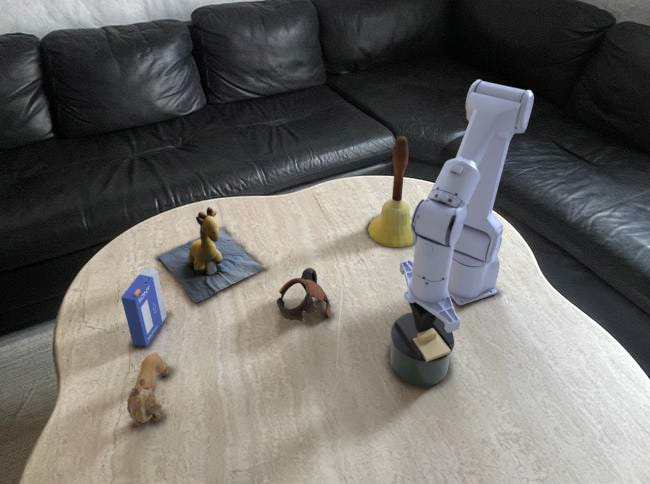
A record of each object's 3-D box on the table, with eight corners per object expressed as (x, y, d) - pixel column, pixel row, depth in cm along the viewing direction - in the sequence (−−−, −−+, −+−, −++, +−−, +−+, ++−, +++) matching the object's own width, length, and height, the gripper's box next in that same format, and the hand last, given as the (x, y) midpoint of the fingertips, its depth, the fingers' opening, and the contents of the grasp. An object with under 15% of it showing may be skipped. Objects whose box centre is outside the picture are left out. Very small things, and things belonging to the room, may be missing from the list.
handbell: (371, 212, 129) (376, 122, 116) (421, 218, 126) (431, 127, 114) (365, 243, 118) (370, 148, 106) (419, 250, 116) (430, 154, 104)
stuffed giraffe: (195, 303, 102) (186, 237, 95) (158, 258, 114) (148, 197, 107) (263, 271, 111) (260, 208, 104) (222, 232, 123) (216, 174, 116)
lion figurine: (168, 440, 78) (159, 403, 73) (131, 448, 77) (120, 411, 72) (170, 361, 90) (162, 324, 86) (138, 366, 89) (129, 330, 85)
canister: (377, 347, 93) (380, 317, 89) (428, 330, 96) (432, 300, 92) (407, 396, 84) (411, 366, 80) (462, 375, 88) (468, 345, 84)
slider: (412, 341, 86) (413, 333, 85) (435, 333, 87) (436, 325, 86) (426, 362, 82) (427, 354, 81) (450, 353, 84) (452, 345, 83)
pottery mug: (333, 332, 96) (312, 311, 91) (290, 340, 100) (268, 320, 95) (336, 276, 105) (317, 254, 100) (296, 285, 108) (276, 265, 104)
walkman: (146, 347, 93) (134, 298, 87) (133, 344, 93) (120, 295, 88) (168, 314, 100) (158, 267, 94) (155, 312, 100) (144, 265, 94)
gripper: (386, 246, 84) (381, 306, 91) (435, 308, 73) (425, 372, 79) (423, 236, 87) (415, 295, 93) (476, 294, 75) (463, 357, 81)
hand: (422, 329), depth 86 cm, fingers closed
